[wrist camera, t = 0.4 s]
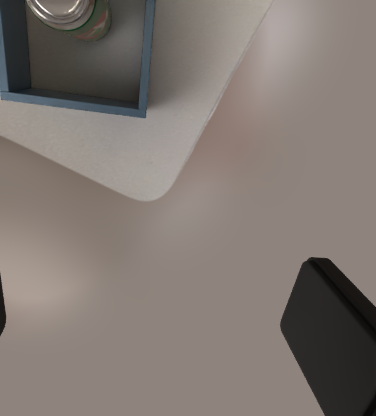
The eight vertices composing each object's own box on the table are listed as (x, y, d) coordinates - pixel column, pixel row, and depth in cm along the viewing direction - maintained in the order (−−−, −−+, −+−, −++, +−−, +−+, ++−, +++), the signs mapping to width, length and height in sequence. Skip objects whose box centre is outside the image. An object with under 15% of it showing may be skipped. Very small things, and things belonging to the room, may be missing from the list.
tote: (6, -118, 26) (-30, -167, 20) (160, -80, 28) (164, -114, 23) (24, 94, 33) (0, 99, 28) (145, 110, 35) (145, 118, 30)
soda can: (58, -18, 29) (7, -68, 18) (110, -13, 30) (91, -58, 19) (64, 40, 31) (22, 26, 21) (113, 44, 32) (96, 32, 21)
